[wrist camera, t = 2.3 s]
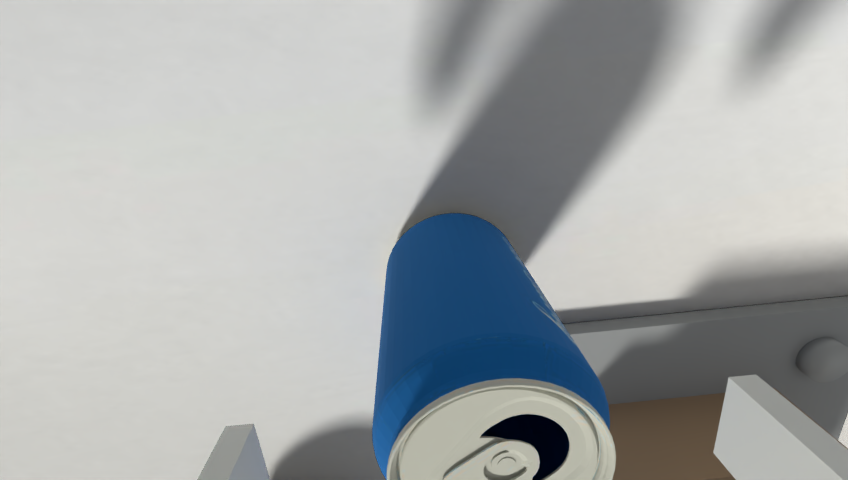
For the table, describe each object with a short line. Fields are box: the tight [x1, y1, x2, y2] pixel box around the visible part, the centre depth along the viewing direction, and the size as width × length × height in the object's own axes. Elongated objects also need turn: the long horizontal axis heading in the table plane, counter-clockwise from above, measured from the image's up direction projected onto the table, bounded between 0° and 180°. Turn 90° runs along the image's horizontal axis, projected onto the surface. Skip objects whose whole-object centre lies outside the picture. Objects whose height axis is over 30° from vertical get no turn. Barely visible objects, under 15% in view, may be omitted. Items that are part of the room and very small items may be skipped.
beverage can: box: [372, 213, 616, 480], centre depth 16 cm, size 6×6×12 cm
